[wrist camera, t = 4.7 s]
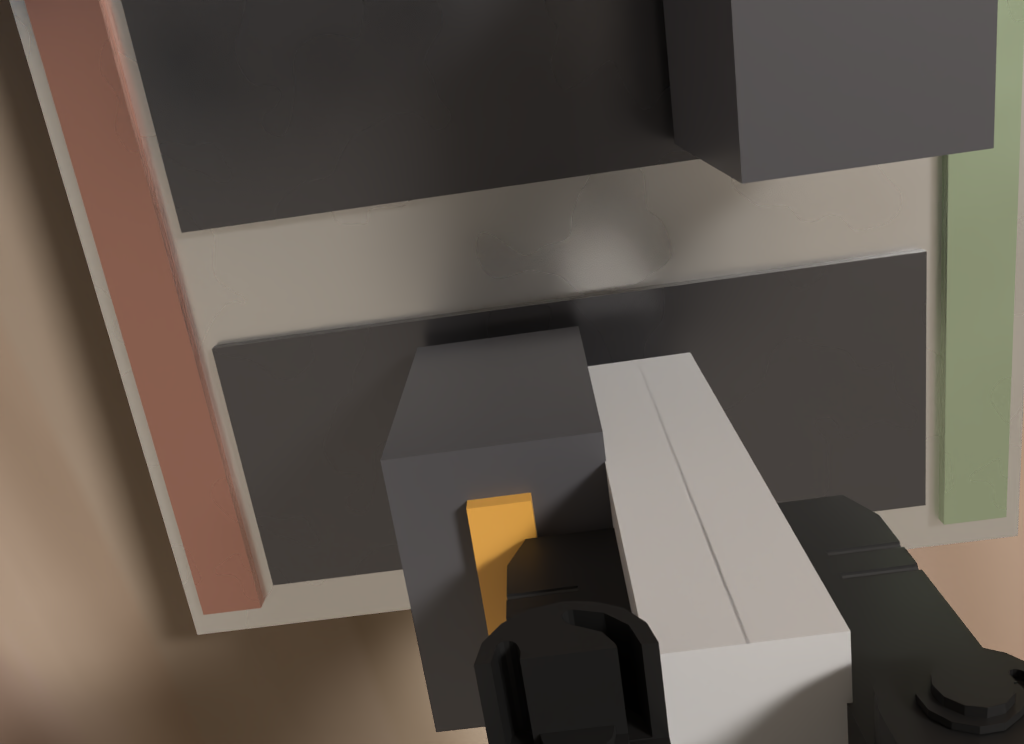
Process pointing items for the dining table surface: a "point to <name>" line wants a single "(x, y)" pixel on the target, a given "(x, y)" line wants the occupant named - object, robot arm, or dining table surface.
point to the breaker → (829, 82)
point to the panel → (500, 267)
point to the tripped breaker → (486, 488)
